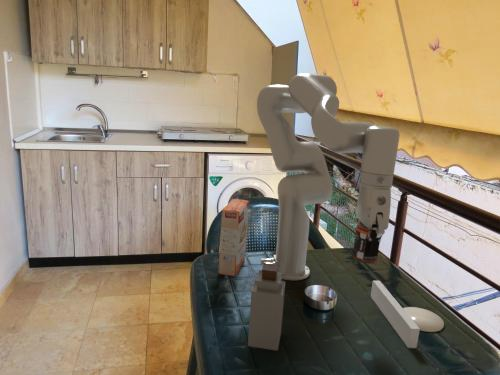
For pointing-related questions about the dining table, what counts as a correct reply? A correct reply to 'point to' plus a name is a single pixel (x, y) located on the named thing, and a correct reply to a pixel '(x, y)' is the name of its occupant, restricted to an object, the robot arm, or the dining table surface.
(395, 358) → the dining table surface
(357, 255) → the supplement bottle
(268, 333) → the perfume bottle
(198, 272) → the dining table surface
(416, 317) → the resting pad
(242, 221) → the cracker box
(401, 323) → the low wall
